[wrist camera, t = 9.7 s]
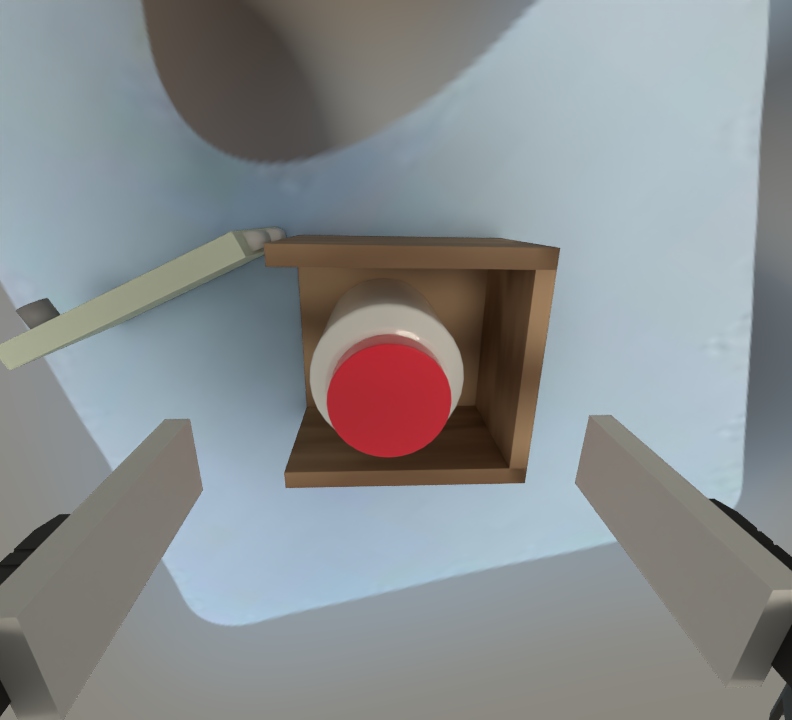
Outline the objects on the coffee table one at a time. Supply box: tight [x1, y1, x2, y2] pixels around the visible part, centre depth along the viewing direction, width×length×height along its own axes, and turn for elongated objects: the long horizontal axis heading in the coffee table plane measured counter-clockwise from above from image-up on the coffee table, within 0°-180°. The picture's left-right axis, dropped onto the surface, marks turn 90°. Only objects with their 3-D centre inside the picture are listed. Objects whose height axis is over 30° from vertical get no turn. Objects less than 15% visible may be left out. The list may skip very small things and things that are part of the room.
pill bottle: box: [310, 278, 464, 457], centre depth 23 cm, size 8×8×11 cm
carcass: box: [264, 235, 560, 488], centre depth 25 cm, size 13×14×9 cm
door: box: [0, 227, 286, 370], centre depth 22 cm, size 13×2×9 cm, turn 114°
